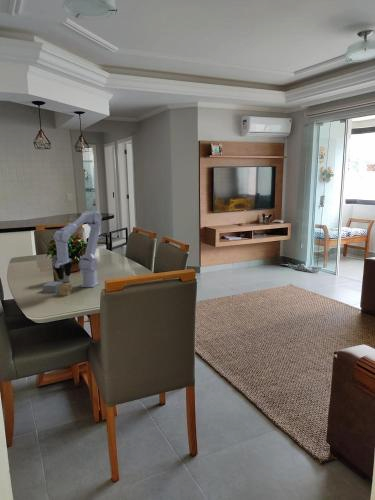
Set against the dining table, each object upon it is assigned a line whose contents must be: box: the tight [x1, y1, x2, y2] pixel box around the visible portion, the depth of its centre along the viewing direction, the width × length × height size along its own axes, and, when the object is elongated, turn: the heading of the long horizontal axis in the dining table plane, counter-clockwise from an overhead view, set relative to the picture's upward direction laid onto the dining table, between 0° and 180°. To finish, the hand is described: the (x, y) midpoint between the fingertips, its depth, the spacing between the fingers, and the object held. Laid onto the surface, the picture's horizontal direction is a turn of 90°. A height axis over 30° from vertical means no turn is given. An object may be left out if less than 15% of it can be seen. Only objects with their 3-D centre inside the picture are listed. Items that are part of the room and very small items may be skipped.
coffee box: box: [51, 255, 71, 283], centre depth 221 cm, size 9×6×16 cm
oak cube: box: [58, 283, 73, 296], centre depth 197 cm, size 5×5×5 cm
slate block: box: [41, 281, 64, 293], centre depth 205 cm, size 8×8×4 cm
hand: (64, 277), depth 196 cm, fingers open, 7 cm apart
